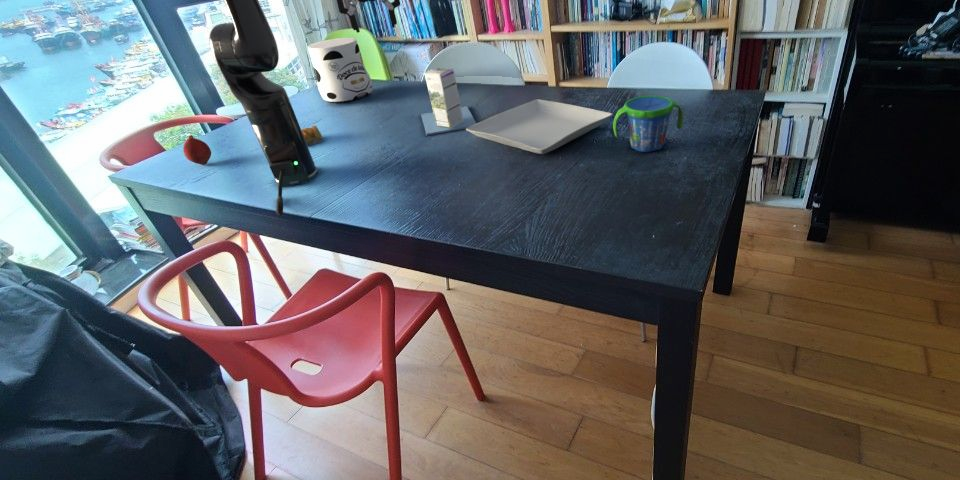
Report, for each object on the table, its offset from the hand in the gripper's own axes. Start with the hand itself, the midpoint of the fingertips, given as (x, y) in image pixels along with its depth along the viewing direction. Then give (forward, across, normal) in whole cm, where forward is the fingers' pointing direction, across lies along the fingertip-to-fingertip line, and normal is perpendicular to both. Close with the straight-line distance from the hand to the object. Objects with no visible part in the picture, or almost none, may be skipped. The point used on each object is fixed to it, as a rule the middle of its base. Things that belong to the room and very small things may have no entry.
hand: (376, 29), depth 117 cm
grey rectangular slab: (+26, +13, +3) cm, 29 cm away
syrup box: (+26, +13, -2) cm, 29 cm away
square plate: (+26, +34, -20) cm, 47 cm away
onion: (+26, -52, +3) cm, 58 cm away
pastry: (+26, -26, +6) cm, 37 cm away
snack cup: (+26, +54, -40) cm, 72 cm away
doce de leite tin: (+26, -16, +44) cm, 54 cm away
